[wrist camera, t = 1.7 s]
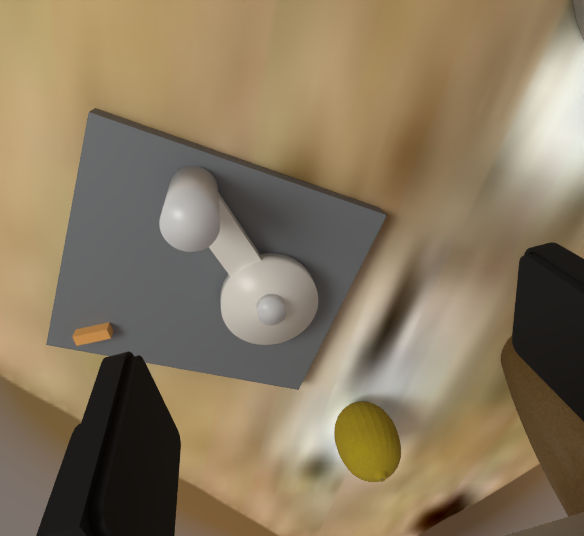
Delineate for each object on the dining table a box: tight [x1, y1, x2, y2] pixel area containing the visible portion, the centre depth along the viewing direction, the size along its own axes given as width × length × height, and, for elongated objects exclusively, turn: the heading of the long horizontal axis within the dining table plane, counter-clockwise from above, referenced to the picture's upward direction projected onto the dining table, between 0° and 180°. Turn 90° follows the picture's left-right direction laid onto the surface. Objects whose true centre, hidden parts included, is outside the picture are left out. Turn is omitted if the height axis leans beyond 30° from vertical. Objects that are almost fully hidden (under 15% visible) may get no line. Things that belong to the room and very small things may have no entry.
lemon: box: [335, 402, 401, 482], centre depth 38 cm, size 6×6×8 cm
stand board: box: [46, 108, 387, 390], centre depth 31 cm, size 20×17×2 cm
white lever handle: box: [159, 166, 318, 345], centre depth 27 cm, size 14×7×6 cm, turn 28°
